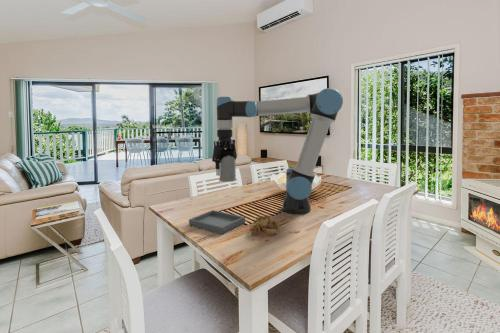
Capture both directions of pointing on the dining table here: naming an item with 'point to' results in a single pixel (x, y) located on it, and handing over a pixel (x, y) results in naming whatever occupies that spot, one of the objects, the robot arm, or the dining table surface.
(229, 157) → the glass holder
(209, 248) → the dining table surface
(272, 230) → the crab model
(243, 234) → the dining table surface
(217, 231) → the grey square tray
